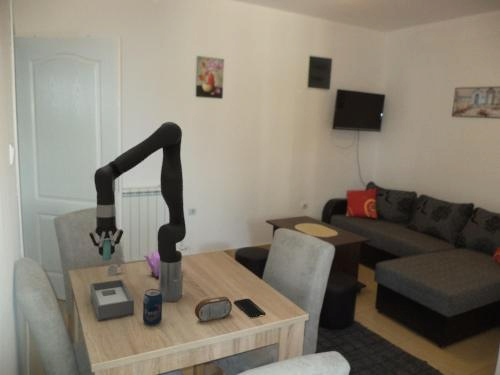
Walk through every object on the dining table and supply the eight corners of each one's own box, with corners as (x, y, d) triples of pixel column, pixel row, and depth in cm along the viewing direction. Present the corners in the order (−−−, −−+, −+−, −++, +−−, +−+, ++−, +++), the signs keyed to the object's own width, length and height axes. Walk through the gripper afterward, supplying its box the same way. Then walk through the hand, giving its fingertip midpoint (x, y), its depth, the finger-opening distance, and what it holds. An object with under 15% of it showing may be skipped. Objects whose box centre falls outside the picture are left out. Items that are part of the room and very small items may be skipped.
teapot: (178, 268, 197) (179, 245, 195) (184, 276, 188) (185, 252, 186) (139, 273, 188) (139, 249, 186) (143, 281, 179) (144, 256, 177)
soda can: (144, 327, 139) (144, 297, 137) (141, 318, 145) (142, 289, 143) (163, 325, 141) (164, 294, 140) (159, 316, 148) (160, 287, 146)
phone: (248, 298, 167) (266, 313, 154) (248, 300, 167) (266, 316, 154) (232, 301, 163) (249, 317, 150) (232, 303, 163) (249, 319, 150)
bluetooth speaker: (228, 313, 153) (230, 294, 152) (232, 317, 151) (233, 297, 149) (194, 320, 146) (194, 300, 145) (197, 324, 143) (197, 303, 142)
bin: (122, 292, 166) (122, 279, 165) (133, 314, 147) (133, 300, 147) (90, 297, 160) (90, 283, 159) (98, 321, 141) (98, 306, 140)
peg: (113, 258, 160) (112, 240, 159) (107, 260, 157) (107, 242, 156) (106, 256, 162) (105, 238, 160) (100, 259, 158) (99, 241, 157)
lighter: (108, 276, 182) (108, 260, 181) (107, 275, 184) (107, 259, 182) (123, 274, 186) (123, 258, 185) (122, 273, 187) (122, 257, 186)
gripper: (122, 211, 163) (122, 250, 166) (86, 213, 156) (87, 253, 159) (125, 215, 157) (125, 255, 159) (88, 217, 150) (89, 259, 152)
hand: (106, 254), depth 159 cm, fingers closed on peg, 3 cm apart
